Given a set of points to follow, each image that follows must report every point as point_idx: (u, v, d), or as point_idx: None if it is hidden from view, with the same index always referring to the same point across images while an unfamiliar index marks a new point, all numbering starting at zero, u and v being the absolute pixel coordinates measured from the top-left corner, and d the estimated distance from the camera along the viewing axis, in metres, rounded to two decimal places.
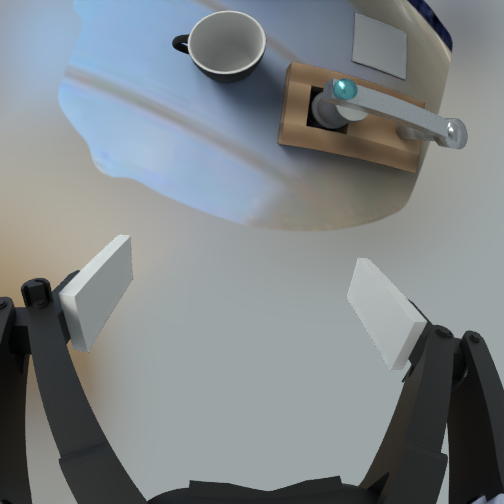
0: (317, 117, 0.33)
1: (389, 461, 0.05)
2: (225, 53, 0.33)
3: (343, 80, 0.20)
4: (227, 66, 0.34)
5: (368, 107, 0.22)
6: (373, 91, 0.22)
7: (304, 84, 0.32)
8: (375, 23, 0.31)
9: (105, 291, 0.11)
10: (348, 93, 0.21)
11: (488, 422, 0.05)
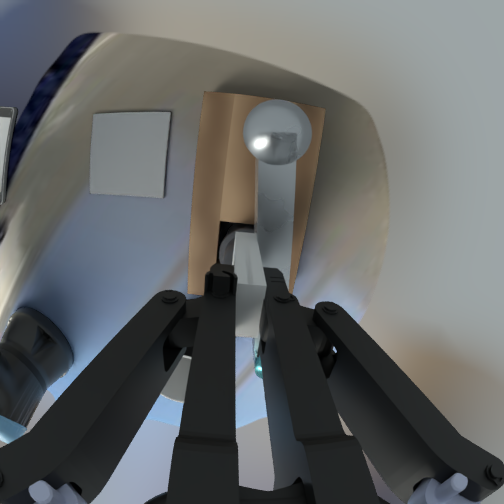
0: None
1: (292, 462, 0.05)
2: None
3: (259, 374, 0.18)
4: None
5: None
6: None
7: None
8: (96, 165, 0.29)
9: None
10: None
11: (394, 409, 0.06)
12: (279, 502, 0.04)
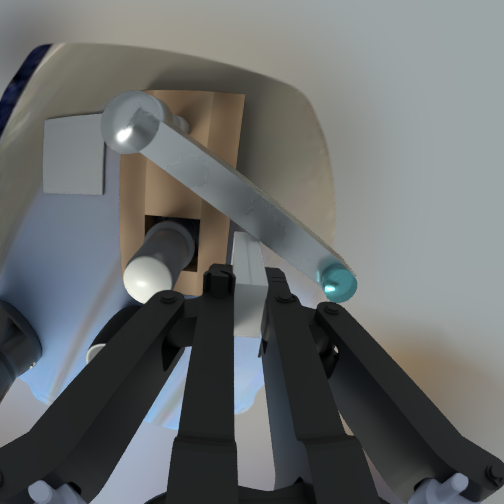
0: (183, 267, 0.29)
1: (293, 462, 0.05)
2: None
3: (337, 299, 0.16)
4: None
5: (313, 239, 0.16)
6: (289, 259, 0.16)
7: None
8: (47, 166, 0.28)
9: None
10: (345, 281, 0.16)
11: (395, 409, 0.06)
12: (279, 502, 0.04)
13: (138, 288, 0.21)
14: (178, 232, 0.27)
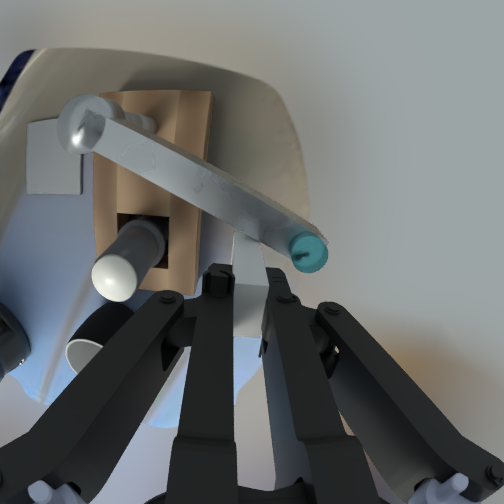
0: (154, 264, 0.29)
1: (293, 462, 0.05)
2: None
3: (309, 269, 0.15)
4: None
5: (272, 208, 0.15)
6: (250, 233, 0.15)
7: None
8: (30, 168, 0.28)
9: None
10: (312, 248, 0.15)
11: (396, 409, 0.06)
12: (279, 502, 0.04)
13: (105, 285, 0.21)
14: (148, 230, 0.27)
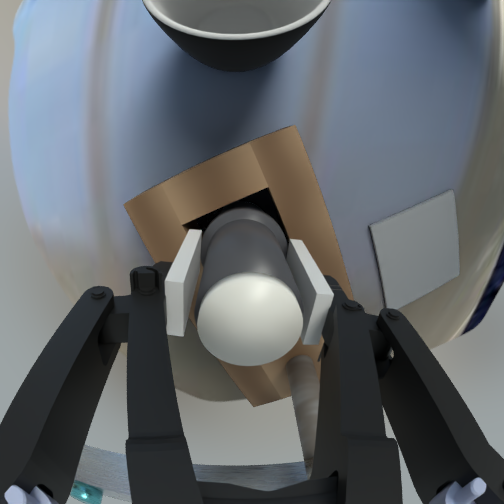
0: (205, 239, 0.17)
1: (332, 457, 0.05)
2: (251, 20, 0.16)
3: (75, 496, 0.09)
4: None
5: None
6: (128, 495, 0.10)
7: (261, 173, 0.17)
8: (451, 226, 0.23)
9: (192, 280, 0.14)
10: None
11: (435, 409, 0.06)
12: (279, 502, 0.04)
13: (261, 310, 0.10)
14: None
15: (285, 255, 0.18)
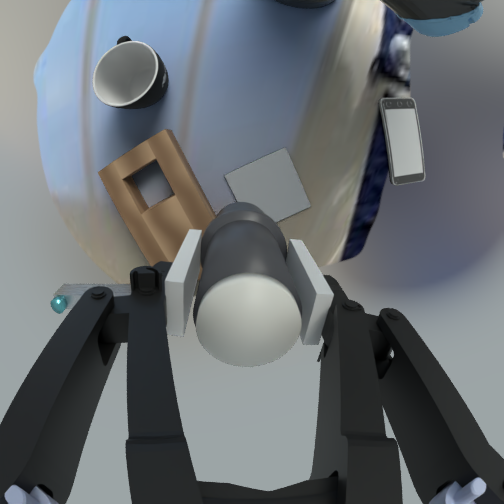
0: (204, 240, 0.17)
1: (332, 457, 0.05)
2: (153, 77, 0.34)
3: (52, 301, 0.27)
4: (142, 87, 0.35)
5: None
6: (78, 296, 0.29)
7: (152, 152, 0.35)
8: (289, 171, 0.41)
9: (192, 280, 0.14)
10: (58, 309, 0.28)
11: (435, 409, 0.06)
12: (279, 502, 0.04)
13: (260, 311, 0.10)
14: None
15: (284, 256, 0.18)
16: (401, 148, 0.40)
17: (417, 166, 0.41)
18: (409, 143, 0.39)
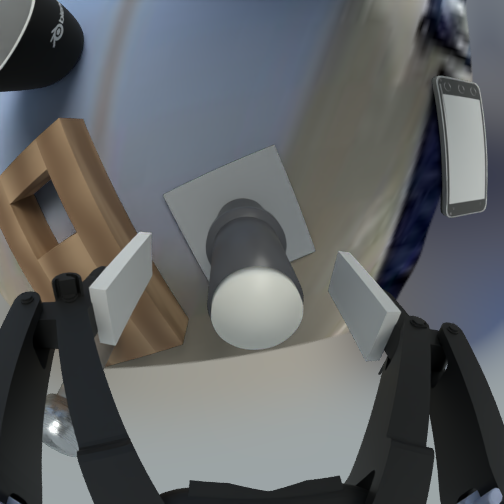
0: (210, 235, 0.18)
1: (373, 458, 0.05)
2: None
3: None
4: None
5: None
6: None
7: (42, 160, 0.17)
8: (280, 189, 0.23)
9: (130, 286, 0.12)
10: None
11: (473, 417, 0.05)
12: (279, 502, 0.04)
13: (268, 299, 0.12)
14: None
15: (284, 249, 0.19)
16: (462, 159, 0.22)
17: (479, 188, 0.23)
18: (472, 152, 0.21)
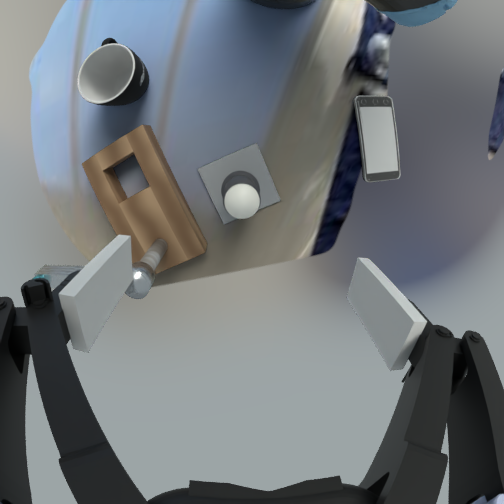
0: (223, 183, 0.38)
1: (389, 461, 0.05)
2: None
3: None
4: (125, 85, 0.36)
5: None
6: (55, 276, 0.30)
7: (130, 146, 0.37)
8: (260, 166, 0.43)
9: (105, 291, 0.11)
10: None
11: (488, 422, 0.05)
12: (279, 502, 0.04)
13: (245, 194, 0.31)
14: None
15: (259, 191, 0.39)
16: (375, 145, 0.42)
17: (392, 163, 0.43)
18: (384, 141, 0.41)
